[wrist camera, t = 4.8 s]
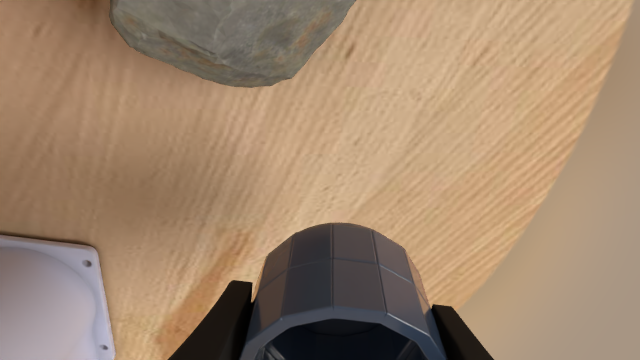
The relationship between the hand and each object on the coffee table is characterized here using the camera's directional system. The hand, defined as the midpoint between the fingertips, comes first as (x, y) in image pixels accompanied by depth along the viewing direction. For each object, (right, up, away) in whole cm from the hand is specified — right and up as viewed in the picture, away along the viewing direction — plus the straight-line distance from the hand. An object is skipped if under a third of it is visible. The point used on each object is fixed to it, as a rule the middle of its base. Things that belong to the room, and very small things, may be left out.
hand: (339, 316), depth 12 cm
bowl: (0, +1, +1) cm, 2 cm away
